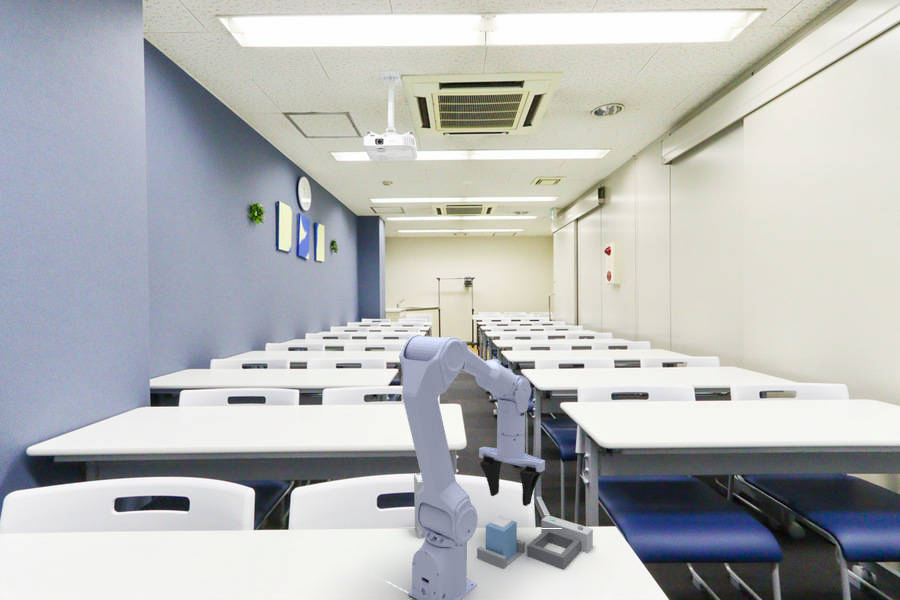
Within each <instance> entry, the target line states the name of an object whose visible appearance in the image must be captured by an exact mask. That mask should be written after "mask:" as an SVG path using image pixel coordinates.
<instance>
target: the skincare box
mask: <svg viewBox="0 0 900 600" xmlns="http://www.w3.org/2000/svg"><path fill="white" fill-rule="evenodd" d="M413 483H414V484H413V486H414V487H413V488H414V529H415V531H416V534H417V538H418V539H425V535H423V527H421V526H420V525H419V524H418V522H417V519H416V510H417V500H416V494H417V493H418V491H419V490H420V489H421V487H423V486H424V485H423V480H422V476H421V472H416V473H414V474H413Z"/></svg>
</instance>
